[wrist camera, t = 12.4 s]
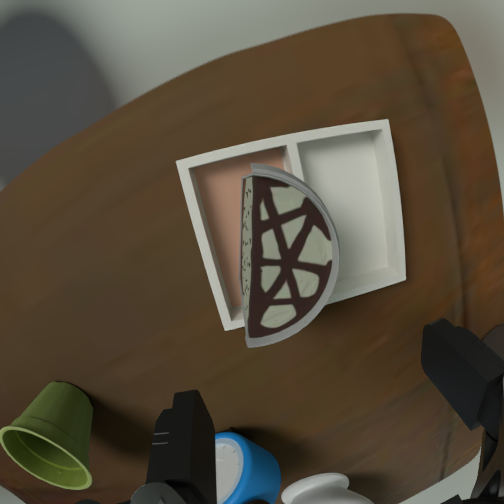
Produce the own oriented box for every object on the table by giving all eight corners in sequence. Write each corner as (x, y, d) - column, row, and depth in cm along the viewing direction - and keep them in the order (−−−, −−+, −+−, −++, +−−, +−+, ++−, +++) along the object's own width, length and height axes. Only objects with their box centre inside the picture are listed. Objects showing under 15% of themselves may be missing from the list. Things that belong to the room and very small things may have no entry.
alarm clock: (244, 412, 37) (257, 514, 22) (274, 432, 38) (295, 525, 24) (175, 452, 38) (170, 540, 24) (206, 469, 40) (208, 552, 26)
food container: (301, 291, 31) (333, 349, 22) (238, 292, 31) (247, 354, 21) (311, 162, 28) (357, 170, 18) (241, 159, 27) (254, 164, 17)
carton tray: (373, 121, 27) (388, 119, 25) (392, 269, 32) (405, 279, 30) (180, 160, 27) (175, 161, 24) (224, 315, 32) (225, 330, 29)
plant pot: (37, 413, 35) (11, 467, 24) (28, 353, 31) (-12, 410, 21) (110, 439, 37) (94, 500, 26) (112, 383, 34) (88, 453, 23)
